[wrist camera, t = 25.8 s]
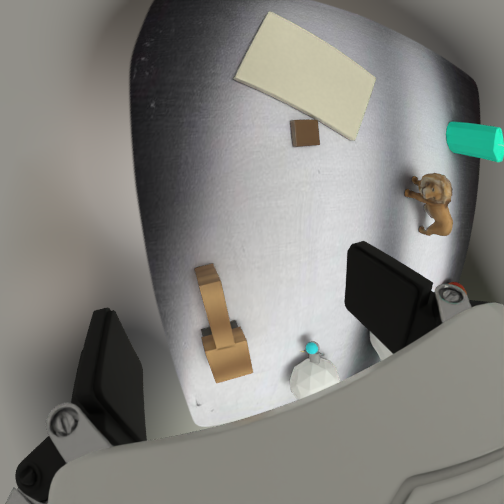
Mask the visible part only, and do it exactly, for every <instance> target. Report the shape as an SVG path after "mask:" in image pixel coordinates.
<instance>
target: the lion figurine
mask: <svg viewBox="0 0 504 504" xmlns="http://www.w3.org/2000/svg"><path fill="white" fill-rule="evenodd" d="M412 182H413V184H415V185H417V186H418V188H419V192H420V193H415V192H413V191H410V190H409V189H406V190H405V196H406V197H409V198H415V199H417V200H418V201H420V202H423V203H426V204H425V205H424V210H425V212H427V214H428V215H429V216H430V217H431V218H434V219H435V222H434V223H433V224H432V225H430V226H429V227H428V229H427V230H425V229H424V227H423V226H420V228H419V232H420V233H422V234H425V235H428V236H430V235H432V234H437V235H441V236H447V235H449V234H450V233H451V230H452V225H453V220H452V217H451V215H450V213H449V209H448V204H449V203H450V202H451V196H452V187H451V183H450V181H449V180H448V179H447V178H446V176H445V175H441V174H437V173H433V174H426V175H424V176H423V177H422V180H418V178H417V177H416V176H413V177H412Z"/></svg>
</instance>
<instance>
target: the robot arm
mask: <svg viewBox="0 0 504 504" xmlns="http://www.w3.org/2000/svg"><path fill="white" fill-rule="evenodd" d="M432 285H433V282H431V281H430V280H428V279H426V278H425V277H423V276H422V275H420V274H419V273H417V272H415V271H414V270H412V269H411V268H409V267H407V266H406V265H404V264H402V263H401V262H399V261H397V260H396V259H394V258H393V257H391V256H389V255H387V254H386V253H384V252H382V251H381V250H379V249H377V248H376V247H374V246H372V245H370V244H369V243H367V242H365V241H361V242H358V243H354V244H352V245H351V246H350V248H349V249H348V252H347V272H346V289H345V306H346V308H347V310H348V311H349V312H350V313H352V314H353V315H354V316H355V317H356V318H357V319H358V320H359V321H360V322H361V323H362V324H363V325H364V326H365V327H366V328H367V329H368V330H369V331H370V332H371V333H372V334H373V335H374V336H375V337H376V338H377V339H378V340H379V341H380V342H381V343H382V344H383V345H384V346H385V347H386V348H388V349H389V350H390V351H391V352H392V353H393V355H391V356H389V357H387V358H386V359H384V360H382V361H380V362H378V363H376V364H375V365H373V366H371V367H369V368H367V369H365V370H363V371H361V372H359V373H357V374H355V375H353V376H351V377H349V378H347V379H345V380H343V381H341V382H339V383H337V384H334V385H332V386H330V387H328V388H325V389H323V390H321V391H319V392H316V393H314V394H311V395H309V396H307V397H304V398H302V399H299V400H296V401H294V402H291V403H289V404H286V405H283V406H280V407H278V408H275V409H272V410H269V411H266V412H263V413H260V414H257V415H254V416H251V417H248V418H244V419H241V420H238V421H234V422H231V423H227V424H223V425H220V426H216V427H212V428H208V429H204V430H199V431H195V432H190V433H186V434H181V435H176V436H171V437H166V438H160V439H154V440H148V441H147V439H146V427H145V414H144V395H143V369H142V365H141V362H140V360H139V358H138V356H137V354H136V353H135V351H134V349H133V347H132V345H131V343H130V341H129V339H128V337H127V335H126V333H125V331H124V329H123V327H122V325H121V322H120V321H119V318H118V316H117V314H116V312H115V311H114V310H113V311H111V310H110V309H109V308H104V309H100V310H96V311H94V312H93V315H92V319H91V322H90V326H89V329H88V333H87V337H86V340H85V344H84V348H83V350H82V352H81V356H80V361H79V366H78V369H77V374H76V379H75V384H74V389H73V394H72V401H71V403H63V404H60V405H58V406H56V407H55V408H54V409H53V410H52V411H51V412H50V413H49V415H48V417H47V420H46V430H47V432H48V435H49V436H48V437H47V438H46V439H45V440H44V441H43V442H42V443H41V444H40V445H39V446H37V447H36V448H35V449H34V450H33V451H32V452H31V453H30V454H29V455H28V456H27V457H26V458H25V459H24V460H23V461H22V462H21V463H20V464H19V465H18V467H17V470H16V483H17V485H18V489H16V488H13V490H12V491H11V493H10V495H9V497H8V499H7V502H6V504H504V305H503V304H501V303H498V302H496V303H493V302H483V301H472V300H469V299H468V297H467V295H466V293H465V291H463V290H462V289H461V288H459V287H458V286H455V285H452V284H441V285H439V286H437V287H436V289H435V292H432V291H431V289H432Z"/></svg>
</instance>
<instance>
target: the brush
mask: <svg viewBox="0 0 504 504" xmlns="http://www.w3.org/2000/svg"><path fill="white" fill-rule="evenodd" d="M195 273H196V277H197V281H198V285H199V288H200V292H201V296H202V299H203V303H204V307H205V310H206V314H207V318H208V321H209V325H210V327H209V328H205V329H202V330H201V331H202V335H203V337H201V338H202V342H203V346H204V350H205V353H206V356H207V359H208V362H209V365H210V368H211V371H212V373H213V376H214V379H215V382H216V383H219V382H223V381H227V380H230V379H234V378H237V377H241V376H244V375H247V374H251V373H253V369H252V364H251V359H250V354H249V350H248V345H247V340H246V338H245V336H244V334H243V331H242V329H241V327H238V325H237V323H236V321H231V322H230V320H229V316H228V311H227V307H226V302H225V298H224V293H223V288H222V284H221V280H220V278H219V275H218V273H217V271H216V269H215V267H214V264H209V265H205V266H201V267H197V268H195Z"/></svg>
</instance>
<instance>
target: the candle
mask: <svg viewBox="0 0 504 504" xmlns="http://www.w3.org/2000/svg"><path fill="white" fill-rule="evenodd" d="M446 138H447V144H448V146H449V149H450V150H451V151H452V152H453V153H458V154H464V155H469V156H473V157H478V158H483V159H487V160H491V161H495V162H501V161H502V160H503V156H504V141H503V135H502V130H501V128H500V127H494V126H487V125H480V124H472V123H463V122H450V123H449V124H448V126H447V131H446Z"/></svg>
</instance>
